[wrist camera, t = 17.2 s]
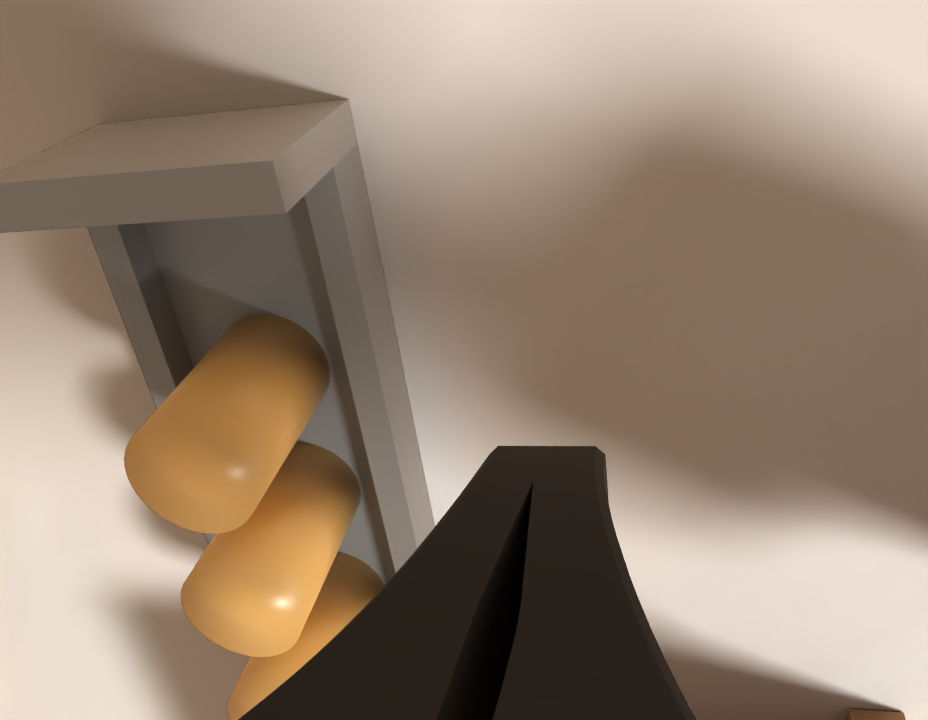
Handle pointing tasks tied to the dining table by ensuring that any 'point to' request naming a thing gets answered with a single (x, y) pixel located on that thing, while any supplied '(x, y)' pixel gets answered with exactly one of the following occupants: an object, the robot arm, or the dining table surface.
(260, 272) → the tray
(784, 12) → the dining table surface
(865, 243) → the dining table surface
